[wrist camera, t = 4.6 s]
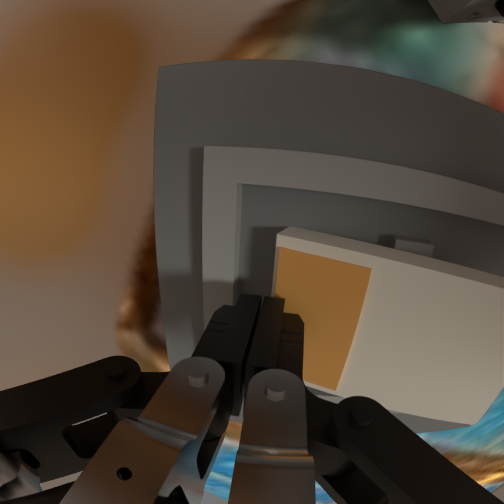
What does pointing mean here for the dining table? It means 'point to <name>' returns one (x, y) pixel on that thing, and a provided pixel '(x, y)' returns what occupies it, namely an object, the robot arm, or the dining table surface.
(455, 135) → the box
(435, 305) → the breaker rocker
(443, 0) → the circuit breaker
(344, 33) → the dining table surface
